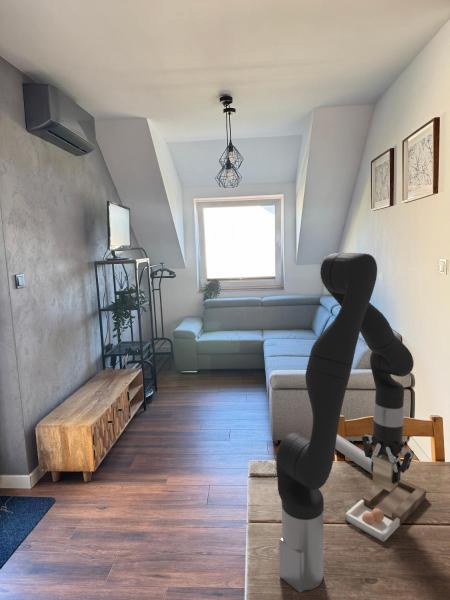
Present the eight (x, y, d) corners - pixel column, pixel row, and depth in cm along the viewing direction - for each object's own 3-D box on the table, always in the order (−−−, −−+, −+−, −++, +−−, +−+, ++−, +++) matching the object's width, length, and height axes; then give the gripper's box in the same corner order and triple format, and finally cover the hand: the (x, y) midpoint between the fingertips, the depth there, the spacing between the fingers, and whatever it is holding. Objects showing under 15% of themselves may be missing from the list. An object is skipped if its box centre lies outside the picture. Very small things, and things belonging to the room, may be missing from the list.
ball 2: (378, 525, 105) (386, 515, 106) (368, 514, 107) (376, 505, 107) (378, 524, 108) (386, 515, 108) (368, 514, 110) (376, 505, 110)
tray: (383, 542, 101) (383, 535, 100) (345, 520, 109) (345, 513, 109) (399, 525, 106) (399, 518, 106) (361, 505, 114) (361, 499, 114)
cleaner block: (389, 491, 107) (391, 464, 106) (372, 483, 111) (373, 456, 110) (397, 484, 110) (399, 457, 109) (380, 476, 114) (381, 450, 113)
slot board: (399, 525, 106) (400, 516, 106) (362, 505, 115) (362, 497, 114) (425, 498, 117) (426, 490, 116) (389, 481, 125) (389, 474, 125)
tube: (393, 466, 126) (339, 431, 148) (382, 465, 124) (328, 430, 146) (389, 482, 126) (335, 445, 149) (377, 482, 124) (324, 444, 146)
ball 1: (369, 528, 104) (373, 515, 104) (358, 521, 106) (362, 509, 107) (374, 528, 106) (378, 516, 106) (363, 522, 108) (367, 510, 109)
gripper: (356, 415, 111) (354, 472, 113) (408, 433, 100) (404, 496, 102) (370, 407, 116) (368, 462, 118) (421, 424, 105) (417, 484, 107)
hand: (385, 477), depth 110 cm, fingers closed on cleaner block, 5 cm apart
